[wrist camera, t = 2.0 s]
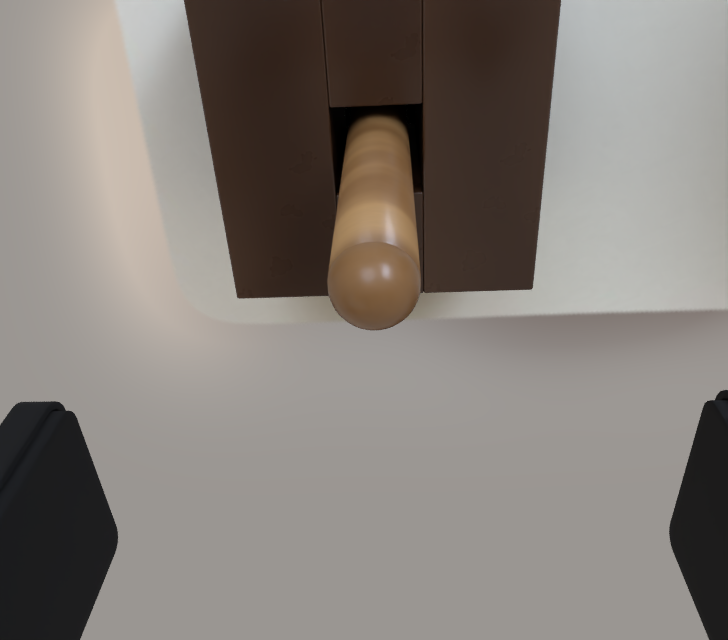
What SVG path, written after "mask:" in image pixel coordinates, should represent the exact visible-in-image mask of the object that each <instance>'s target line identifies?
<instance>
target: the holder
mask: <svg viewBox="0 0 728 640" xmlns="http://www.w3.org/2000/svg"><path fill="white" fill-rule="evenodd" d="M184 3H185V9H186V15H187V20H188V26H189V31H190V37H191V42H192V48H193V54H194V59H195V65H196V70H197V76H198V81H199V87H200V93H201V98H202V104H203V109H204V115H205V120H206V126H207V132H208V137H209V143H210V148H211V154H212V159H213V165H214V171H215V176H216V182H217V187H218V193H219V198H220V204H221V210H222V215H223V221H224V226H225V232H226V237H227V243H228V249H229V254H230V260H231V265H232V271H233V276H234V282H235V288H236V293H237V298H271V297H304V296H329V294H328V284H327V279H328V271H329V264H330V256H331V249H332V242H333V235H334V227H335V220H336V213H337V206H338V198H339V191H340V184H341V177H342V169H343V162H344V155H345V148H346V140H347V133H348V126H347V127H346V118H345V107H358V106H381V105H404V104H415V124H414V123H413V124H408V133H409V145H410V156H411V168H412V180H413V192H414V203H415V215H416V227H417V239H418V250H419V262H420V274H421V289H420V293H423V291H424V292H425V293H431V292H464V291H498V290H531V289H532V288H533V281H534V271H535V260H536V250H537V240H538V230H539V220H540V210H541V199H542V189H543V179H544V169H545V159H546V148H547V138H548V128H549V118H550V108H551V98H552V87H553V77H554V67H555V57H556V47H557V36H558V26H559V16H560V6H561V0H184Z"/></svg>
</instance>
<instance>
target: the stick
mask: <svg viewBox="0 0 728 640" xmlns="http://www.w3.org/2000/svg"><path fill="white" fill-rule="evenodd" d="M327 284H328V294H329V297H330V300H331V302H332V304H333V306H334V308H335V310H336V311H337V312H338V314H339V315H340V316H341V317H342V318H343V319H345V320H346V321H347V322H348V323H350V324H352V325H354V326H356V327H358V328H361V329H366V330H382V329H387V328H390V327H393V326H394V325H396V324H398V323H400V322H401V321H403V320H404V319H405V318H406V317H407V316H408V315H409V314H410V313H411V312H412V310H413V309H414V307H415V305H416V303H417V301H418V298H419V295H420V289H421V274H420V262H419V250H418V239H417V227H416V215H415V203H414V192H413V180H412V168H411V156H410V145H409V133H408V121H407V109H406V104H404V105H381V106H358V107H351V111H350V119H349V126H348V133H347V140H346V148H345V155H344V162H343V169H342V177H341V184H340V191H339V198H338V206H337V213H336V220H335V227H334V235H333V242H332V249H331V256H330V264H329V271H328V279H327Z"/></svg>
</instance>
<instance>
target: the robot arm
mask: <svg viewBox="0 0 728 640" xmlns="http://www.w3.org/2000/svg"><path fill="white" fill-rule="evenodd" d="M669 532H670V533H669V534H670V542H671V546H672V549H673V552H674V555H675V557H676V560H677V562H678V564H679V567H680V569H681V572H682V574H683V576H684V579H685V582H686V584H687V586H688V589H689V591H690V594H691V596H692V599H693V601H694V604H695V606H696V608H697V611H698V613H699V616H700V618H701V621H702V623H703V625H704V628H705V630H706V633H707V635H708V638H709V640H728V390H724V391H720V392H719V394H718V395H717V396H716V399H715V400H711V401H707V402H706V403H705V405H704V407H703V410H702V413H701V417H700V420H699V424H698V427H697V431H696V434H695V438H694V441H693V445H692V449H691V452H690V456H689V459H688V463H687V466H686V470H685V473H684V477H683V481H682V484H681V487H680V491H679V495H678V498H677V501H676V505H675V508H674V512H673V515H672V519H671V523H670V531H669ZM117 543H118V532H117V527H116V524H115V521H114V518H113V516H112V513H111V510H110V508H109V505H108V502H107V499H106V497H105V494H104V491H103V489H102V486H101V483H100V480H99V478H98V475H97V472H96V469H95V467H94V464H93V461H92V458H91V456H90V453H89V450H88V448H87V445H86V442H85V439H84V437H83V434H82V431H81V429H80V426H79V423H78V420H77V418H76V416H75V414H74V413H73V412H72V411H66V410H65V408H64V406H63V405H62V404H61V403H60V402H20V403H18V404H16V405H15V406H14V407H13V408H12V409H11V411H10V412H9V414H8V415H7V417H6V418H5V419H4V421H3V422H2V423H1V425H0V640H80V638H81V636H82V633H83V631H84V628H85V626H86V623H87V621H88V619H89V616H90V614H91V611H92V609H93V606H94V604H95V601H96V599H97V596H98V594H99V591H100V589H101V586H102V584H103V582H104V579H105V577H106V574H107V571H108V569H109V567H110V564H111V561H112V559H113V557H114V554H115V551H116V548H117Z"/></svg>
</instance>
